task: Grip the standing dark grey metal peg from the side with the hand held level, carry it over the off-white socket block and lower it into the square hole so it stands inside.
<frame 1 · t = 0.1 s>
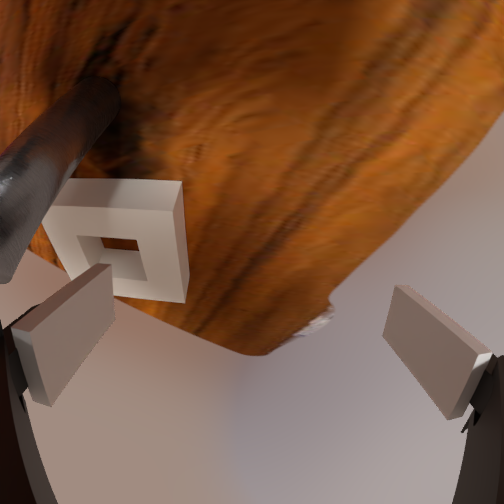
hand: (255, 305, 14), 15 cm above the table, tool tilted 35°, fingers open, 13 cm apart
socket block: (123, 230, 32), on the table
peg: (95, 101, 21), on the table
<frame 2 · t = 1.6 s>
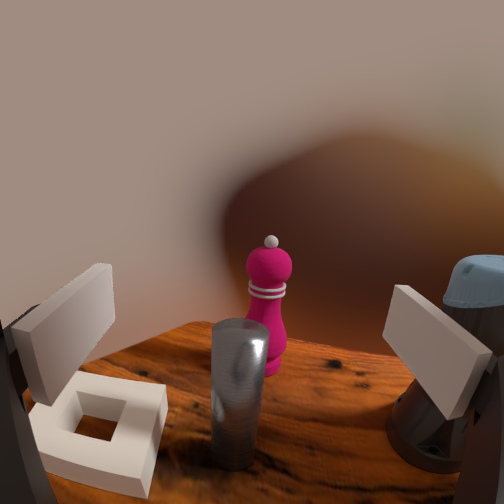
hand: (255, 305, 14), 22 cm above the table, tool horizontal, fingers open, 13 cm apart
socket block: (99, 438, 27), on the table
pepper mill: (259, 366, 46), on the table
peg: (232, 455, 28), on the table
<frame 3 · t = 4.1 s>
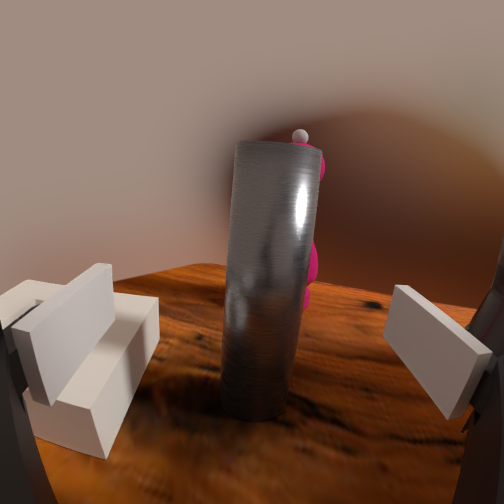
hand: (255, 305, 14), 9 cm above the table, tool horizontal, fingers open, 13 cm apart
socket block: (54, 368, 19), on the table
pepper mill: (281, 303, 37), on the table
peg: (252, 399, 20), on the table
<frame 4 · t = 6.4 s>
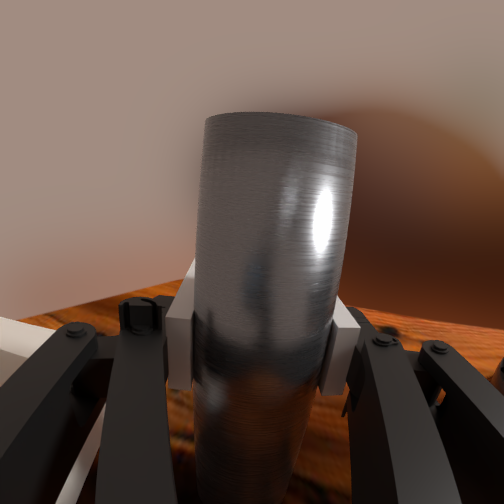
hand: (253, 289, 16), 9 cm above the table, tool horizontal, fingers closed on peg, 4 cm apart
peg: (241, 486, 13), on the table, touching gripper
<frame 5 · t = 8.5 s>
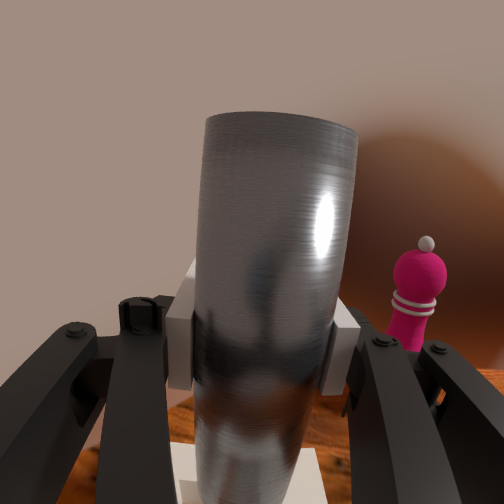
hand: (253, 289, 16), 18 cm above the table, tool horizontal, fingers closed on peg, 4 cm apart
pepper mill: (383, 396, 34), on the table
peg: (241, 486, 13), point 9 cm above the table, touching gripper
when the fingers open (11 cm above the table, at t = 10.6 s): peg drops 1 cm, resting in socket block.
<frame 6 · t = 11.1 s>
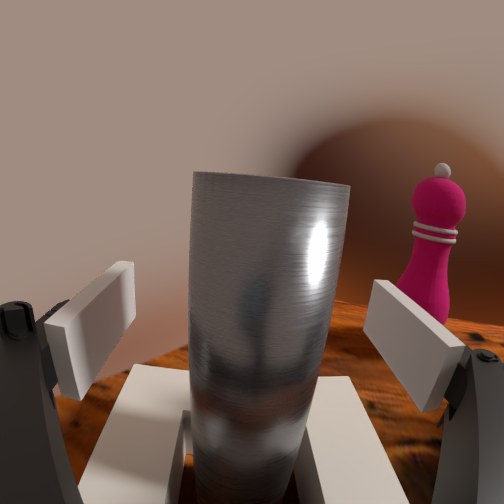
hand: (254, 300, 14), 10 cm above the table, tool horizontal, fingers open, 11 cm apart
socket block: (239, 499, 13), on the table
pepper mill: (407, 345, 32), on the table
peg: (238, 500, 13), resting in socket block
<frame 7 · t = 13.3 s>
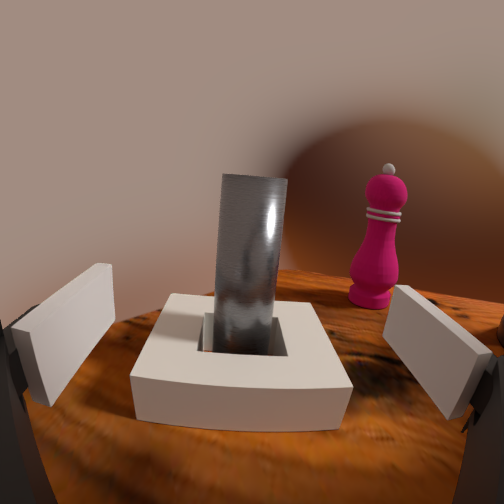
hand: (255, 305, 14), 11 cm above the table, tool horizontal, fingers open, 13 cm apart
socket block: (238, 372, 25), on the table
pepper mill: (367, 302, 44), on the table
peg: (238, 373, 25), resting in socket block
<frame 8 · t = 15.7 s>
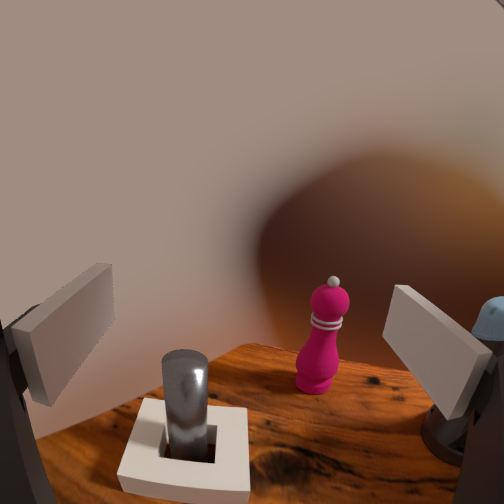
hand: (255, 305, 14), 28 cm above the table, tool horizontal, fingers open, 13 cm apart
socket block: (189, 459, 32), on the table
pepper mill: (312, 385, 51), on the table
peg: (189, 460, 32), resting in socket block
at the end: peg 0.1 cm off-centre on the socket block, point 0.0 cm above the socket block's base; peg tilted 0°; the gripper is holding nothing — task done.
